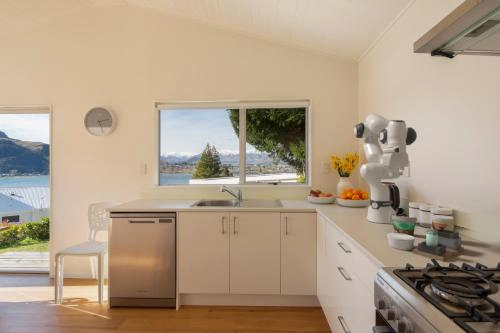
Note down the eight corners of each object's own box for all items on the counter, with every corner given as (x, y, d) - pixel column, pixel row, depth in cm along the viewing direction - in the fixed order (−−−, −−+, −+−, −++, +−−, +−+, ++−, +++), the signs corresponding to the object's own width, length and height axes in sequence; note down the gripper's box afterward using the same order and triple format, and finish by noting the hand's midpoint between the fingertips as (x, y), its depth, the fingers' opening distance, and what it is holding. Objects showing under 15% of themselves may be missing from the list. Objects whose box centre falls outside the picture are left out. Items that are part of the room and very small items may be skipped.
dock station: (435, 243, 123) (435, 227, 123) (463, 250, 114) (464, 232, 114) (412, 253, 110) (413, 234, 110) (442, 261, 101) (443, 241, 101)
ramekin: (414, 245, 120) (414, 234, 120) (415, 253, 111) (415, 241, 111) (387, 241, 126) (387, 231, 126) (386, 248, 117) (386, 237, 116)
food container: (393, 235, 137) (393, 216, 137) (391, 232, 143) (391, 214, 143) (420, 237, 133) (420, 218, 133) (416, 234, 139) (416, 216, 139)
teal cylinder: (428, 249, 111) (428, 228, 111) (439, 252, 108) (439, 230, 108) (424, 250, 109) (424, 230, 109) (435, 253, 106) (435, 232, 105)
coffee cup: (426, 238, 132) (427, 215, 132) (439, 236, 135) (440, 214, 134) (445, 244, 123) (445, 219, 123) (458, 242, 126) (459, 218, 125)
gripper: (400, 150, 145) (399, 174, 145) (380, 149, 133) (379, 175, 134) (412, 150, 139) (411, 175, 140) (392, 149, 128) (391, 176, 129)
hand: (395, 175), depth 137 cm, fingers open, 8 cm apart
